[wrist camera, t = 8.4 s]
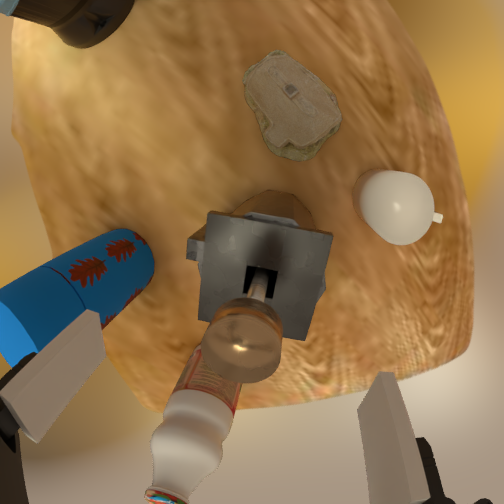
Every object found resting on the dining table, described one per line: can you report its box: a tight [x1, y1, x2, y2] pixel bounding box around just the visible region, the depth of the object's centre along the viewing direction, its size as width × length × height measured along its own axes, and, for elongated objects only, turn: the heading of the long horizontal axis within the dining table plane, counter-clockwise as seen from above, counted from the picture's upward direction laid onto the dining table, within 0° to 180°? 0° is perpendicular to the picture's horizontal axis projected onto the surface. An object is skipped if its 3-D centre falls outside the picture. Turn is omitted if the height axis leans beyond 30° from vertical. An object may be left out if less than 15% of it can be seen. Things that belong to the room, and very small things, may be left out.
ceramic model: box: [243, 50, 342, 161], centre depth 28 cm, size 14×11×10 cm
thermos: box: [0, 229, 154, 368], centre depth 31 cm, size 11×11×25 cm
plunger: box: [201, 265, 283, 383], centre depth 22 cm, size 8×8×18 cm
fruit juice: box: [144, 344, 242, 504], centre depth 33 cm, size 9×9×28 cm
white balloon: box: [352, 169, 443, 245], centre depth 30 cm, size 8×10×9 cm
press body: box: [186, 190, 333, 341], centre depth 30 cm, size 10×13×17 cm
